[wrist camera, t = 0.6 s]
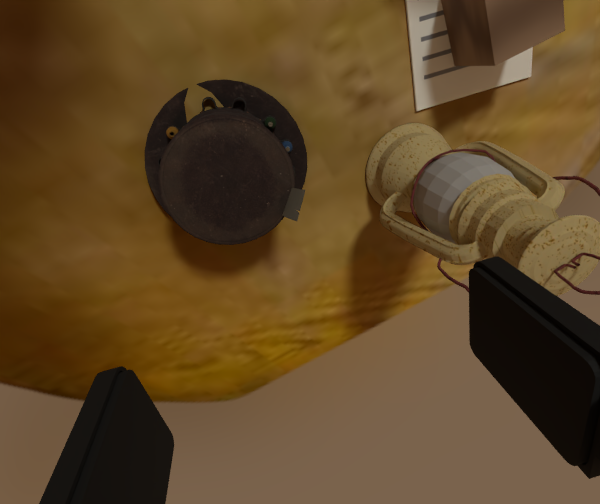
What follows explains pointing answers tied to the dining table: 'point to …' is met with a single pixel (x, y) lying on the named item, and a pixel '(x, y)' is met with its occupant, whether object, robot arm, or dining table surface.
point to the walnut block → (499, 28)
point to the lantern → (481, 207)
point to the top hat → (227, 164)
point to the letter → (450, 60)
